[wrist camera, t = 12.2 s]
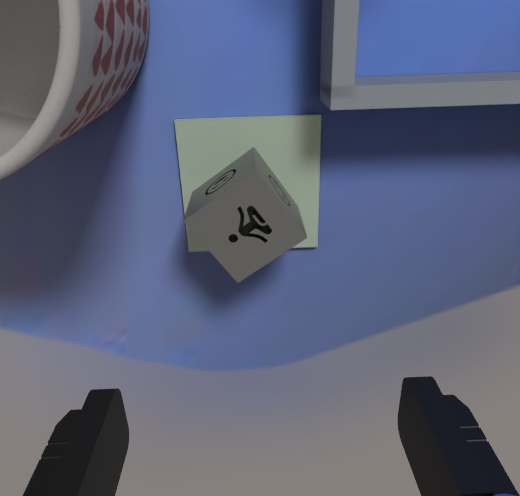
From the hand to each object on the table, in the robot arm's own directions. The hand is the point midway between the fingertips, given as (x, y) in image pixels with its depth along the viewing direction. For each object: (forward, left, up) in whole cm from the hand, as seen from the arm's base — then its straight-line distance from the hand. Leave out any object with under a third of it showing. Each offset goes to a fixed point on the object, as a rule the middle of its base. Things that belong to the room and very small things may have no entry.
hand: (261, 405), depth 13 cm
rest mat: (0, 0, -19) cm, 19 cm away
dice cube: (0, +1, -19) cm, 19 cm away
